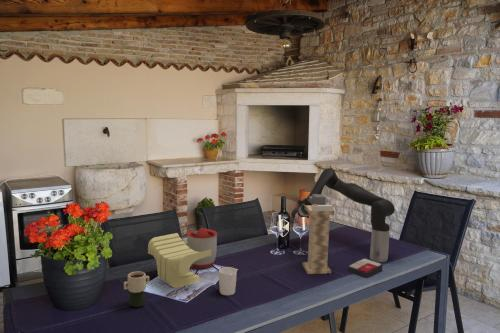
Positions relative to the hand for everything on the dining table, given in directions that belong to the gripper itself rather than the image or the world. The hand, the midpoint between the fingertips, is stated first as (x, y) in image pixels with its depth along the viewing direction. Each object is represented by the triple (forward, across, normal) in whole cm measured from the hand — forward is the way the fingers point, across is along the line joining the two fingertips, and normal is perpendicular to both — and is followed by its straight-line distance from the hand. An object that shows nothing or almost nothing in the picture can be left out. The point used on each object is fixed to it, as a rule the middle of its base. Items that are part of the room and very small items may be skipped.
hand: (314, 199), depth 213 cm
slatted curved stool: (-1, +69, -39) cm, 79 cm away
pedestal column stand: (-9, 0, -34) cm, 36 cm away
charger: (+2, 0, -4) cm, 4 cm away
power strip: (+11, 0, -9) cm, 14 cm away
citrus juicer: (-18, +58, -29) cm, 68 cm away
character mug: (+19, +85, -51) cm, 101 cm away
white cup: (+11, +47, -46) cm, 67 cm away
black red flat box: (-6, -24, -37) cm, 45 cm away
